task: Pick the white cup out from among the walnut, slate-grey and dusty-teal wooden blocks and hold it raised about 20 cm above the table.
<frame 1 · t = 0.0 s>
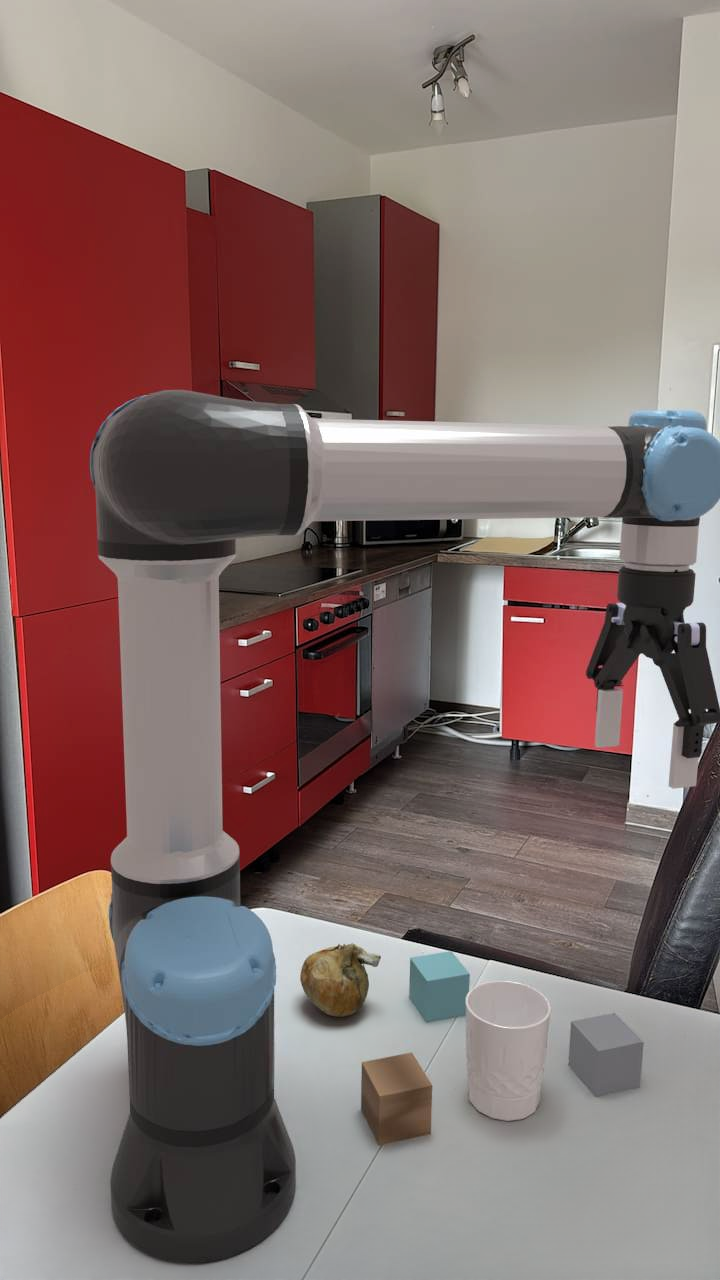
hand: (642, 765, 102), 28 cm above the table, fingers open, 13 cm apart
dusty teal block: (438, 1006, 106), on the table
onion: (335, 1009, 106), on the table
white cup: (503, 1099, 91), on the table
slate grey block: (603, 1076, 95), on the table
walnut block: (395, 1122, 88), on the table
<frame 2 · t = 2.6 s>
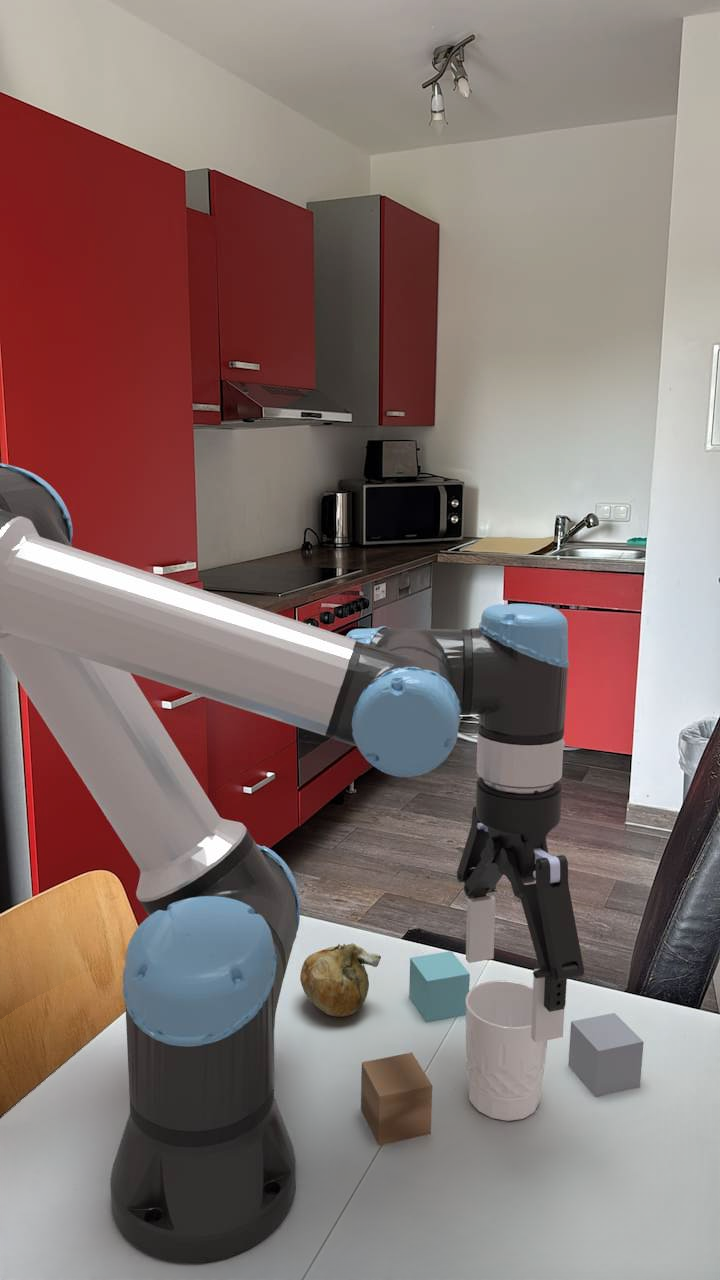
hand: (510, 995, 89), 11 cm above the table, fingers open, 13 cm apart
nothing on the table moved.
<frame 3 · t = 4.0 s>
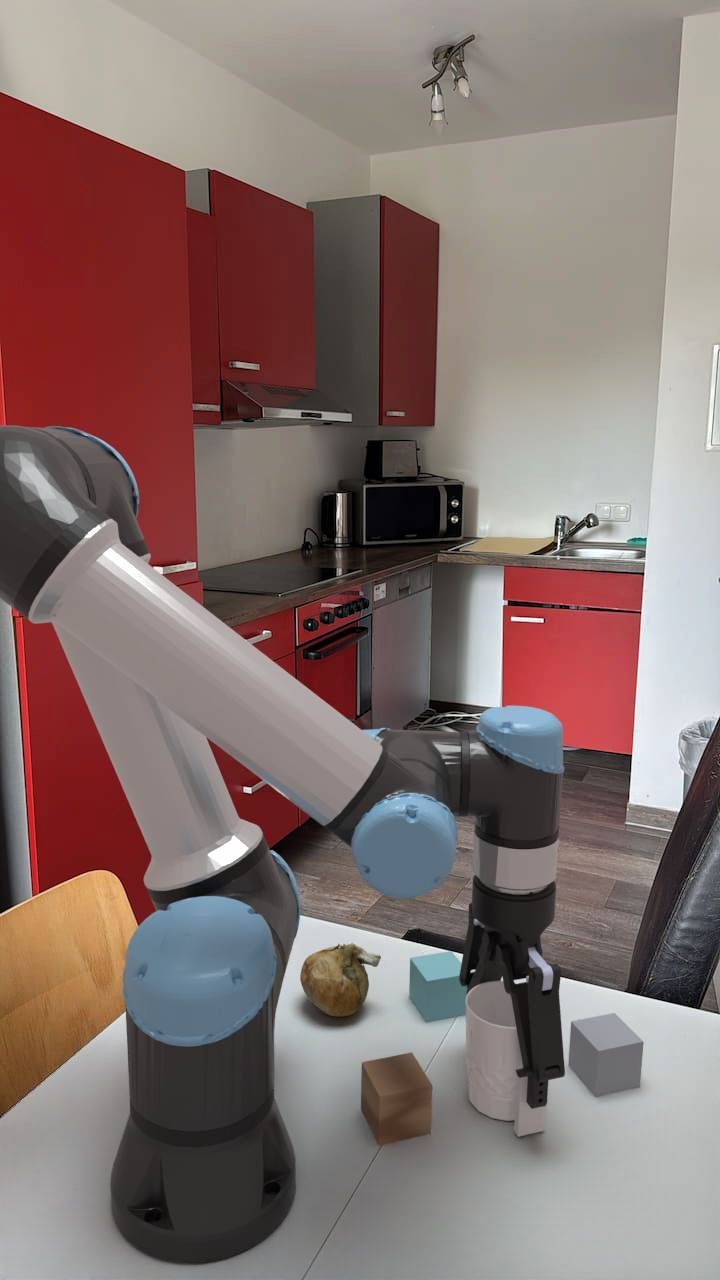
hand: (504, 1095, 91), 0 cm above the table, fingers open, 9 cm apart
nothing on the table moved.
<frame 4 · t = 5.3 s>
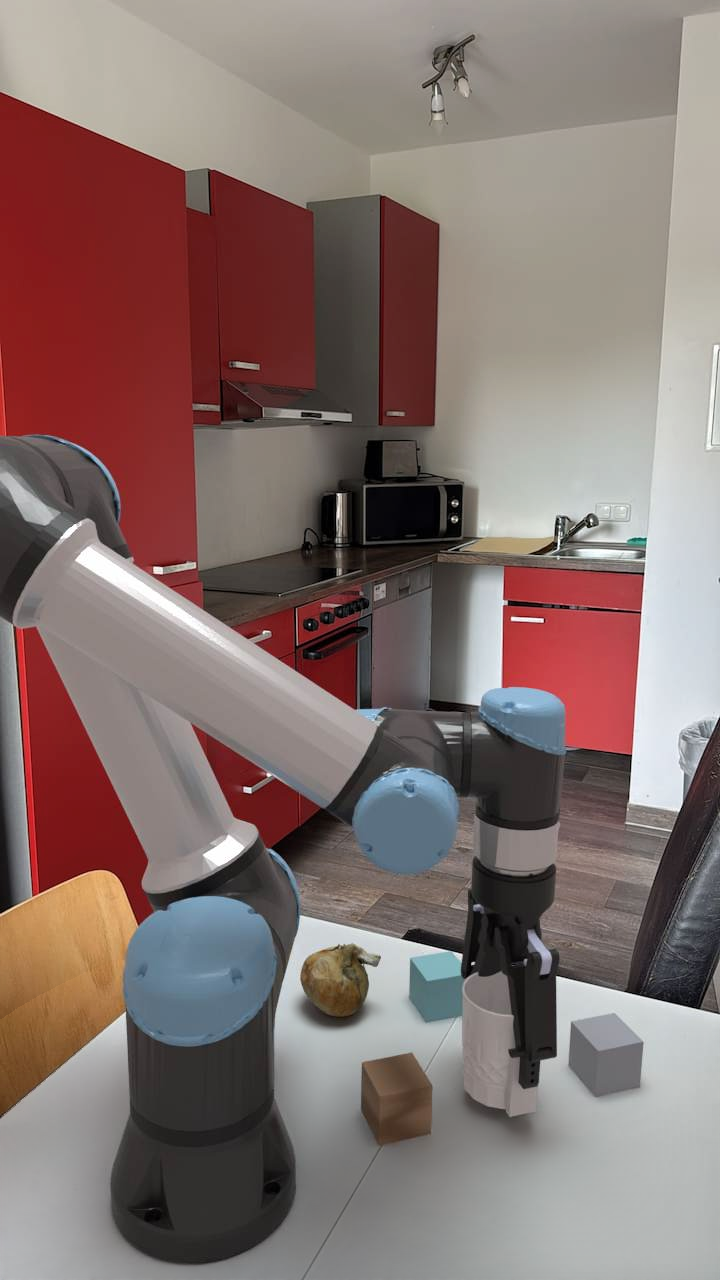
hand: (500, 1082, 91), 2 cm above the table, fingers closed on white cup, 8 cm apart
white cup: (498, 1088, 91), point 1 cm above the table, touching gripper
everything else where it was.
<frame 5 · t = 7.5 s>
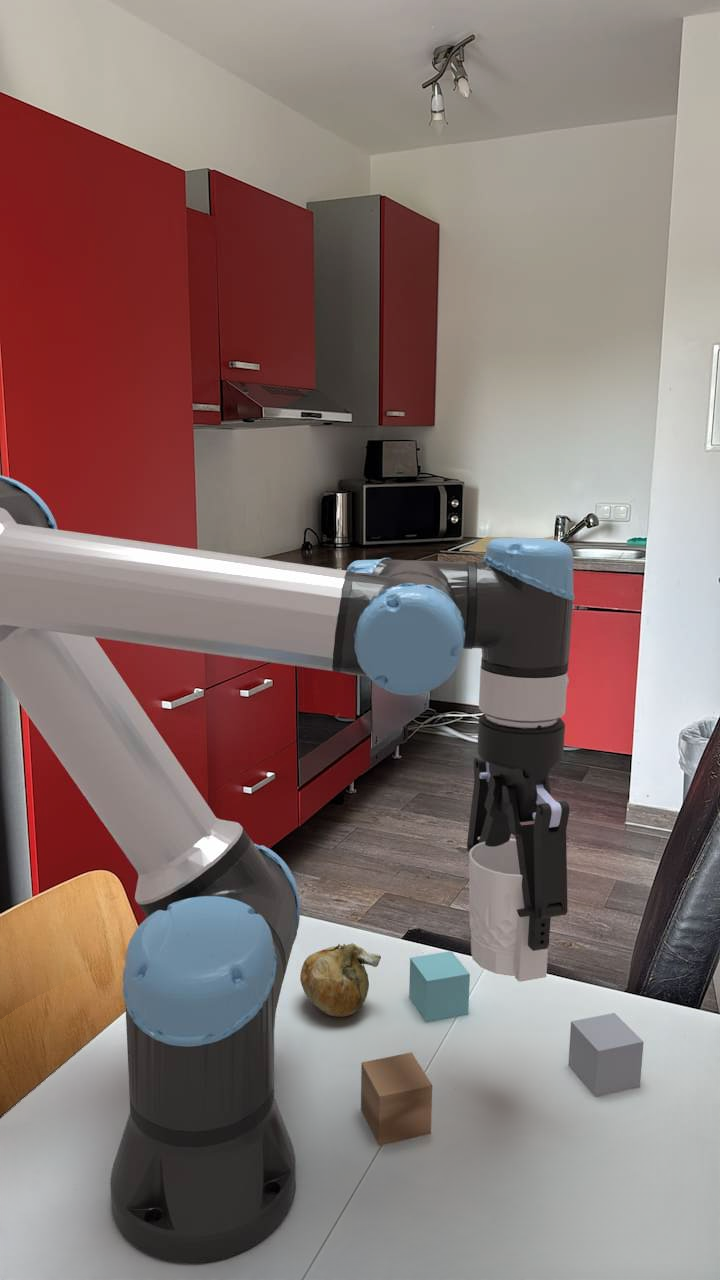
hand: (509, 953, 88), 15 cm above the table, fingers closed on white cup, 8 cm apart
white cup: (507, 959, 88), point 14 cm above the table, touching gripper
everything else where it was.
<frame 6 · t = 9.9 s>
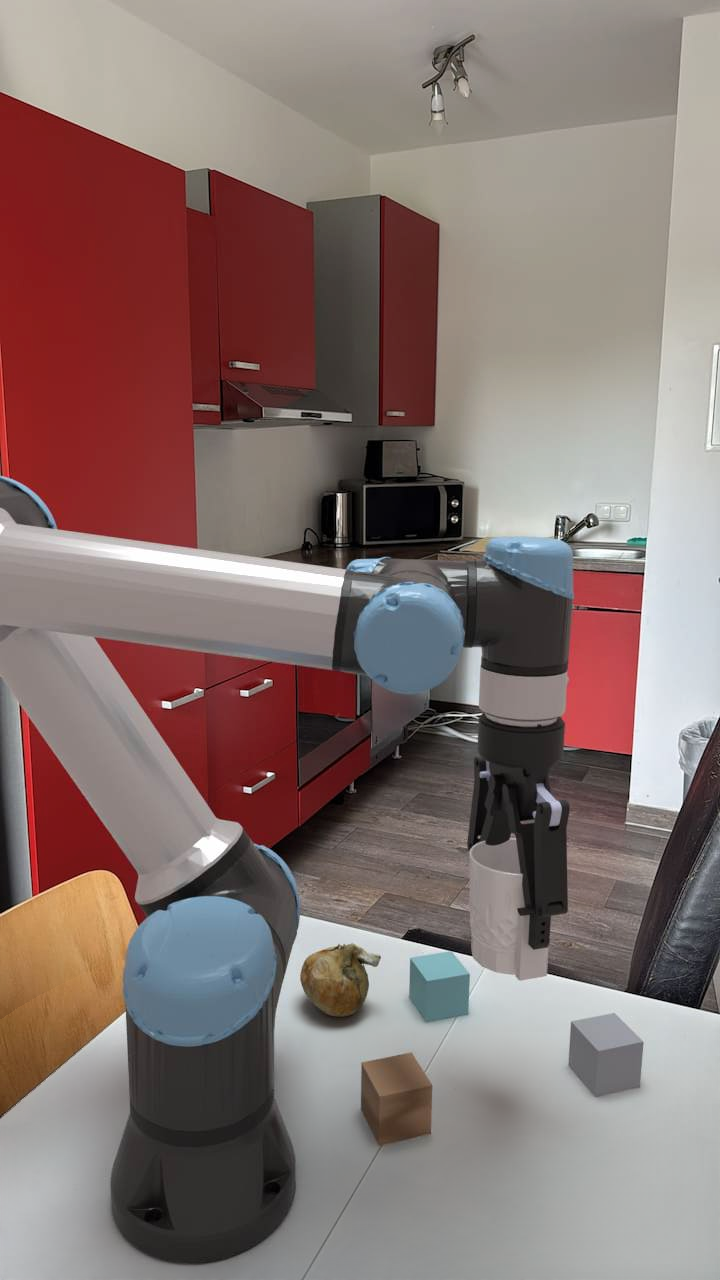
hand: (509, 952, 88), 15 cm above the table, fingers closed on white cup, 8 cm apart
white cup: (507, 958, 88), point 15 cm above the table, touching gripper
everything else where it was.
at the end: the gripper is holding white cup; white cup point 14.6 cm above the table; dusty teal block moved 0.1 cm from its start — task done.
